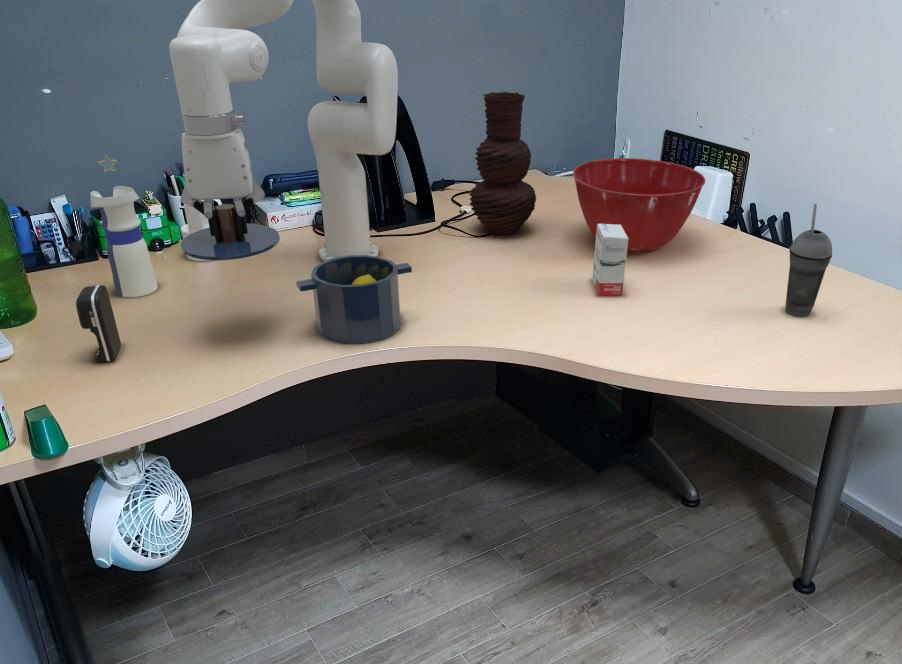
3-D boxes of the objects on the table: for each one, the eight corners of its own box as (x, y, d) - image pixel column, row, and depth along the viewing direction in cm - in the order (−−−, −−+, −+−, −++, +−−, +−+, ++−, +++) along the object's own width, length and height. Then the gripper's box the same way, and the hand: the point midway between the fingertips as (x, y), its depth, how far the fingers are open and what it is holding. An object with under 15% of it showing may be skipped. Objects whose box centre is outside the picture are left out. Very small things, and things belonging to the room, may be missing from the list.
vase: (456, 232, 186) (453, 96, 171) (493, 216, 197) (494, 86, 182) (511, 245, 179) (513, 104, 163) (547, 227, 190) (552, 93, 174)
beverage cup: (798, 323, 144) (821, 214, 134) (768, 308, 150) (789, 203, 140) (827, 315, 147) (852, 208, 137) (797, 301, 153) (819, 197, 142)
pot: (293, 320, 145) (286, 265, 139) (397, 300, 152) (394, 248, 147) (316, 353, 133) (309, 295, 128) (427, 330, 141) (425, 274, 136)
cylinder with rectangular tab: (222, 261, 170) (212, 205, 164) (180, 260, 170) (168, 205, 164) (234, 246, 178) (225, 193, 171) (194, 246, 178) (184, 192, 172)
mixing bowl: (713, 236, 185) (724, 168, 177) (667, 275, 164) (676, 200, 156) (602, 215, 198) (607, 151, 190) (546, 249, 177) (549, 179, 169)
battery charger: (98, 345, 136) (80, 282, 130) (122, 343, 136) (105, 281, 130) (89, 365, 130) (70, 299, 124) (114, 362, 130) (96, 297, 125)
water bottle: (104, 290, 156) (69, 160, 143) (146, 278, 162) (116, 151, 149) (124, 301, 151) (90, 168, 139) (166, 288, 157) (137, 159, 144)
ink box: (623, 296, 155) (629, 237, 149) (597, 296, 154) (602, 237, 148) (615, 279, 162) (621, 222, 156) (591, 279, 162) (595, 222, 156)
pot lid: (175, 238, 136) (166, 200, 133) (268, 224, 142) (262, 187, 139) (190, 270, 124) (181, 229, 121) (290, 253, 130) (285, 213, 127)
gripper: (265, 116, 128) (281, 227, 137) (157, 121, 125) (181, 234, 135) (263, 127, 121) (280, 243, 131) (150, 132, 119) (176, 250, 128)
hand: (230, 237), depth 133 cm, fingers closed on pot lid, 3 cm apart
